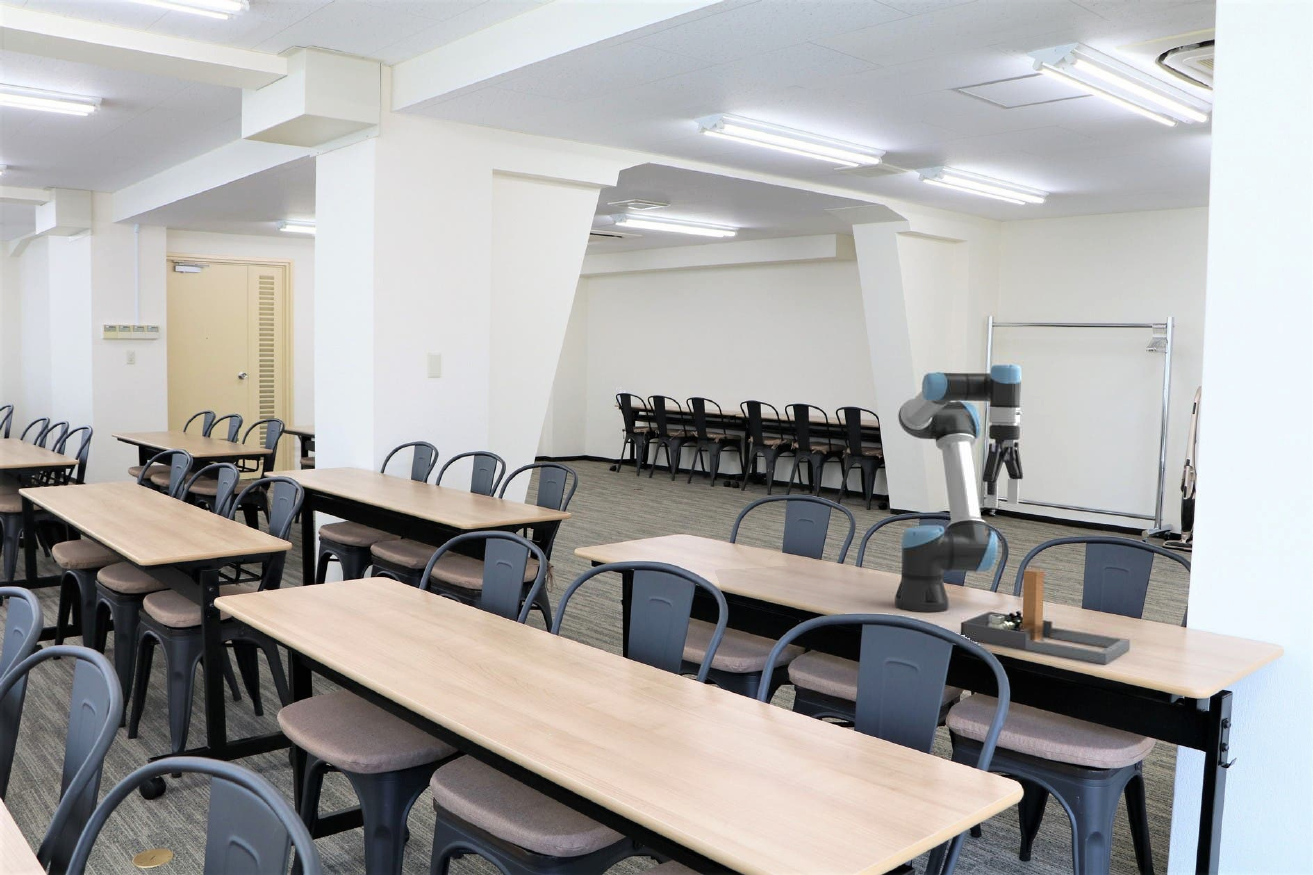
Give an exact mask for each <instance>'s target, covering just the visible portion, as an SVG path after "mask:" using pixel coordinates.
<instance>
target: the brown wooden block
mask: <svg viewBox="0 0 1313 875" xmlns="http://www.w3.org/2000/svg"><path fill="white" fill-rule="evenodd" d="M1044 576H1045V570H1040V569H1036V568H1035V569H1033V568H1029V569H1025V570H1023V590H1022V591H1023V592H1022V593H1023V595H1022V596H1023V597H1022V598H1023V599H1022V617H1023V625H1022V630H1020V632H1024V633H1027V639H1032V640H1038V641H1043V642H1045V641H1044V640H1045V637H1044V623H1045V622H1043V620H1044V618H1043V614H1044V584H1045V583H1044V581H1045V580H1044V579H1045V577H1044Z"/></svg>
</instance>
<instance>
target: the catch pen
mask: <svg viewBox="0 0 1313 875" xmlns="http://www.w3.org/2000/svg"><path fill="white" fill-rule="evenodd" d="M991 614H998V615H1003V616H1004V617H1005V621H1006V620H1009V619H1010V618H1012V617H1011V616H1010V617H1009V614H1007V613H1002V612H1001V613H1000V612H994V611H988V612H985V613H982V614H980V615H978V616H974V617H971V618H970V619H966V620H964V621H962V622H960V636H961V635H965V637H967V638H970V639H971V640H970V641H973V640H974V641H973V642H979V643H984V644H991V645H996V646H1002V647H1006V648H1013V649H1019V650H1023V651H1026V650H1025V646H1026V640H1027V633H1024V632H1018V631H1012V630H1006V629H1000V628H994V627H988V624H989V623H990V622H988V621H989V615H991ZM1015 620H1017V621H1018V620H1019V621H1022V620H1021V619H1020V618H1018V617H1016V618H1015V619H1014V621H1015ZM1043 622H1045V623H1044V638H1045V637H1046V638H1050V628H1052V627H1053V621H1051V620H1044V619H1043ZM1022 625H1023V623H1022ZM1016 629H1017V630H1022V626H1021V627H1019V628H1016Z"/></svg>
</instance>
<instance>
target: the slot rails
mask: <svg viewBox="0 0 1313 875" xmlns="http://www.w3.org/2000/svg"><path fill="white" fill-rule="evenodd" d="M1049 638H1050V639H1054V640H1060V641H1065V642H1071V643H1077V644H1084V645H1090V646H1096V647H1102V648H1105V649H1103V650H1102V651H1101V650H1095V649H1089V648H1085V647H1084V648H1083V647H1078V646H1071V645H1065V644H1060V643H1054V642H1048V641H1044V642H1043V641H1038V640H1032V639H1027V640H1026V646H1025V650H1024V651H1027V652H1035V653H1040V654H1045V655H1049V656H1057V657H1059V658H1061V657H1062V658H1068V659H1073V660H1077V661H1084V662H1088V663H1089V662H1090V663H1094V664H1098V665H1099V664H1100V665H1106V666H1107V665H1108V664H1109V663H1110V662H1113V661H1114V660H1116V659H1117V658H1119V657H1121V656H1122V655H1124V654H1125V653H1127V652H1129V651H1130V650H1131V649H1130V645H1131V640H1130V639H1127V638H1121V637H1114V636H1110V635H1103V634H1096V633H1092V632H1085V631H1078V630H1071V629H1067V628H1066V629H1065V628H1060V627H1055V626H1054V627H1053V626H1052V628H1050V637H1049Z"/></svg>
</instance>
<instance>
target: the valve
mask: <svg viewBox="0 0 1313 875" xmlns="http://www.w3.org/2000/svg"><path fill="white" fill-rule="evenodd" d="M1015 614H1016V615H1015ZM1008 615H1009V617H1010V616H1011V617H1012V618H1010V619H1009V620H1006V621H1005V617H1004V616H1003V615H998V614H991V615H989V621H988V622H990V623H989V624H988V627H994V628H1000V629H1006V630H1012V631H1018V632H1020V630H1017V629H1016V628H1019V627H1021V626H1022V623H1023V612H1022V611H1021V610H1017V611H1015V612H1010V613H1009V614H1008ZM1016 617H1018V618H1020V619H1021V620H1022V621H1019V620H1018V621H1017V620H1015V621H1014V619H1015V618H1016Z"/></svg>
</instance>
